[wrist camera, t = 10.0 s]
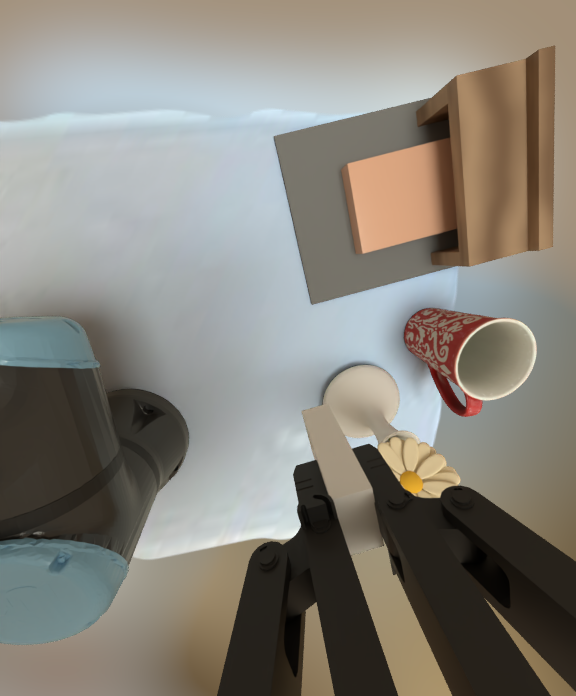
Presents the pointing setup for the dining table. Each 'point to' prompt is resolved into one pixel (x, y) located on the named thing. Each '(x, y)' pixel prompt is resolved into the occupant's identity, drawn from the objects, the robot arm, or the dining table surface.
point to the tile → (400, 196)
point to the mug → (471, 354)
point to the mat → (331, 206)
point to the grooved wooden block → (499, 158)
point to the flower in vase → (387, 429)
